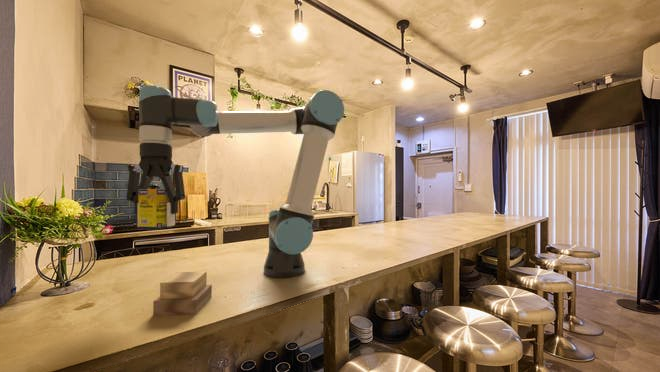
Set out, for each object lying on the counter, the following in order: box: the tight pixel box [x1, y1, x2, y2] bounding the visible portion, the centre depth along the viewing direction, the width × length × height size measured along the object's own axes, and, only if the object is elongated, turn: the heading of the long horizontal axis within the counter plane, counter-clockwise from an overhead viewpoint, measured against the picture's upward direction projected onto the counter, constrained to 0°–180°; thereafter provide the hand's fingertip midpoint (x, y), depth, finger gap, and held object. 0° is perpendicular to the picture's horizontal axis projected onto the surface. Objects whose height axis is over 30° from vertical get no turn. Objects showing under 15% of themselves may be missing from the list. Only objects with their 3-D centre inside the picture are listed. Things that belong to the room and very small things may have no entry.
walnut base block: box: [152, 284, 213, 317], centre depth 67 cm, size 10×10×4 cm
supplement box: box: [137, 188, 174, 231], centre depth 71 cm, size 6×6×11 cm
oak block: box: [159, 271, 207, 299], centre depth 67 cm, size 8×8×4 cm
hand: (156, 225), depth 71 cm, fingers closed on supplement box, 7 cm apart
